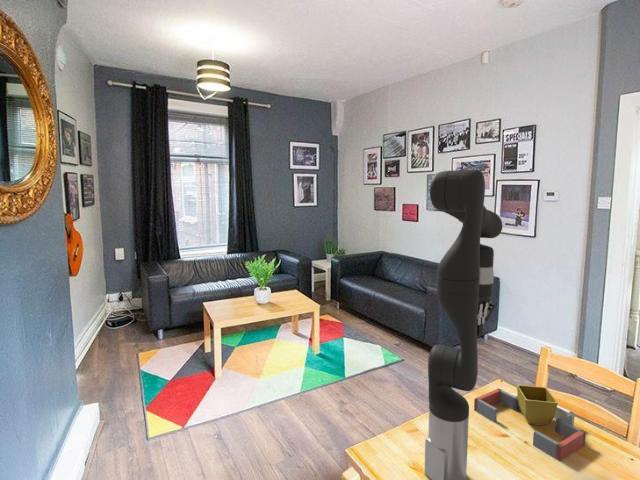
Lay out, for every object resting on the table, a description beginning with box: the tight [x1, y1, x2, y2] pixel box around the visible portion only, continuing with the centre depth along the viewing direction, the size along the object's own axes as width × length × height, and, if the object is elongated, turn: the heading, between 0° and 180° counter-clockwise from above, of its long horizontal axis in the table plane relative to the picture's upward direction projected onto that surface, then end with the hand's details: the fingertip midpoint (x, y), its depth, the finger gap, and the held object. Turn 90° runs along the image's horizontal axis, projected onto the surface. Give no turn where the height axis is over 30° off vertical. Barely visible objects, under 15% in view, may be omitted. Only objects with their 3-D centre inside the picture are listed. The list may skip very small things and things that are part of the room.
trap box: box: [473, 388, 587, 462], centre depth 111 cm, size 26×19×4 cm
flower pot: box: [516, 384, 559, 426], centre depth 112 cm, size 9×9×9 cm
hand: (477, 335), depth 111 cm, fingers closed
